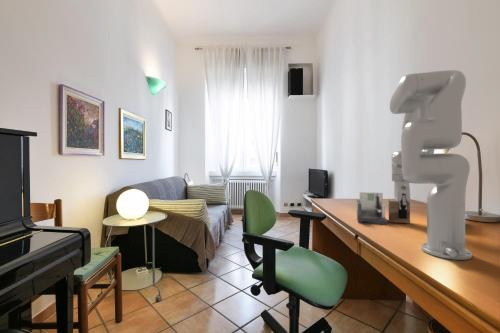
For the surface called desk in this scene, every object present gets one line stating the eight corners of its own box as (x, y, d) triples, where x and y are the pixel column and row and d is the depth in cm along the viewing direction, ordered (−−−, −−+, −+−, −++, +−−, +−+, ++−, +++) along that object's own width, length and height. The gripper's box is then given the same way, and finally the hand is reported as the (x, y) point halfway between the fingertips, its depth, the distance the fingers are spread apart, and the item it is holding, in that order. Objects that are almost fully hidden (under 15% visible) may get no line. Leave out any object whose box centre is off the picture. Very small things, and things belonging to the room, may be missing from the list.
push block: (410, 223, 112) (409, 201, 112) (390, 221, 115) (389, 200, 115) (407, 221, 116) (407, 200, 116) (388, 220, 119) (388, 199, 119)
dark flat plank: (379, 216, 121) (379, 196, 121) (377, 216, 121) (377, 196, 121) (378, 216, 123) (378, 196, 122) (376, 215, 123) (376, 196, 123)
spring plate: (384, 219, 114) (384, 206, 114) (378, 218, 115) (378, 206, 115) (382, 215, 122) (382, 203, 122) (376, 214, 123) (376, 203, 123)
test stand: (386, 224, 113) (386, 196, 112) (358, 222, 117) (357, 195, 116) (382, 218, 124) (382, 192, 123) (356, 217, 128) (356, 192, 128)
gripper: (415, 179, 106) (415, 221, 106) (406, 177, 121) (406, 214, 122) (395, 179, 109) (395, 220, 109) (388, 177, 124) (389, 213, 124)
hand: (401, 216), depth 115 cm, fingers closed on push block, 4 cm apart
